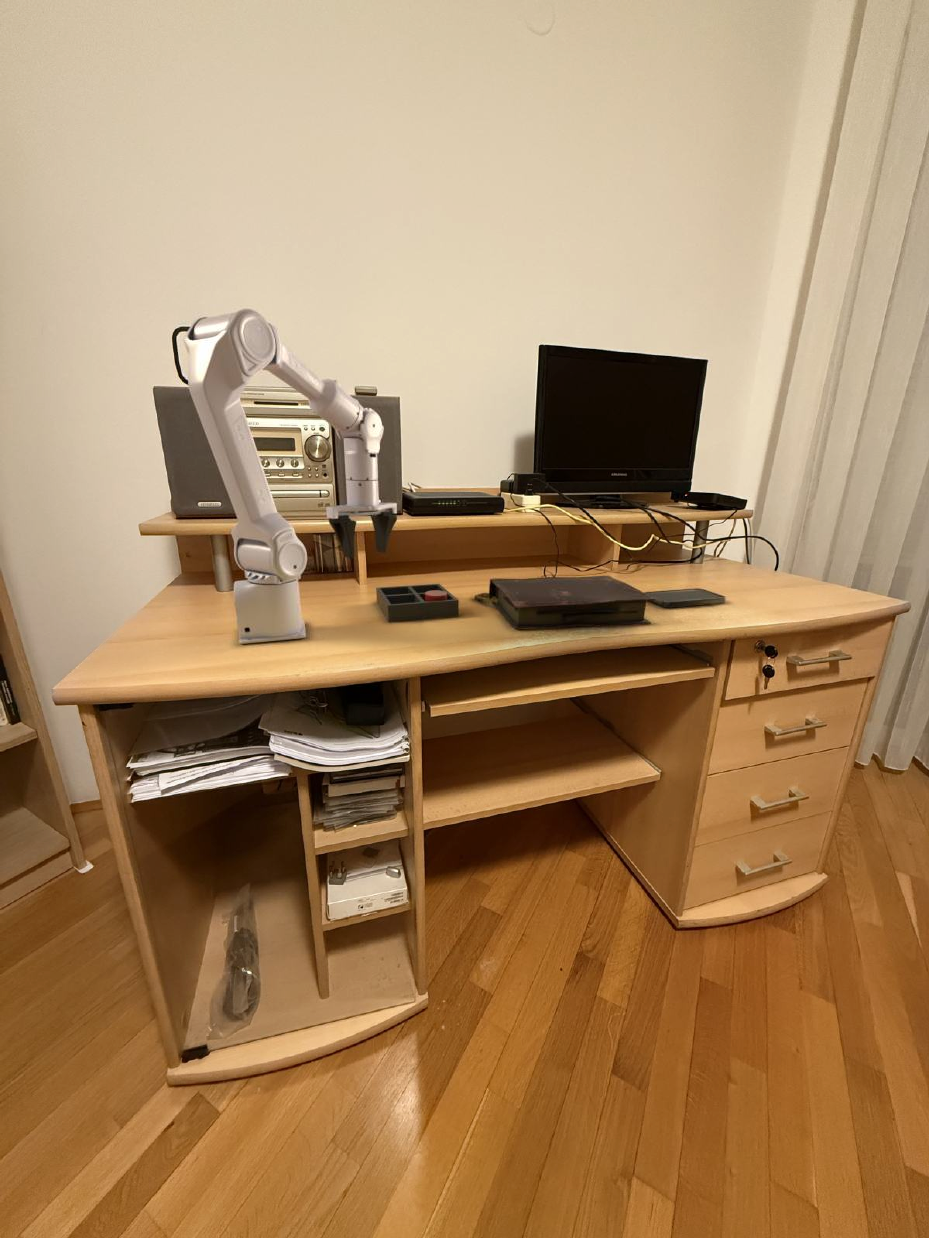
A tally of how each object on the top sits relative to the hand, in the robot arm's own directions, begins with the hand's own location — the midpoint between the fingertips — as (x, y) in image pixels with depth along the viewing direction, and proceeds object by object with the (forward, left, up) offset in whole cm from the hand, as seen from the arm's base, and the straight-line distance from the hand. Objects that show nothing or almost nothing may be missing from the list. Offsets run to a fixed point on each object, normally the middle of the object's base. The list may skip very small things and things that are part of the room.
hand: (365, 554), depth 93 cm
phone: (+62, -16, -10) cm, 65 cm away
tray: (+8, -7, -9) cm, 14 cm away
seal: (+28, -7, -10) cm, 30 cm away
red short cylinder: (+11, -10, -9) cm, 17 cm away
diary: (+34, -17, -10) cm, 39 cm away
